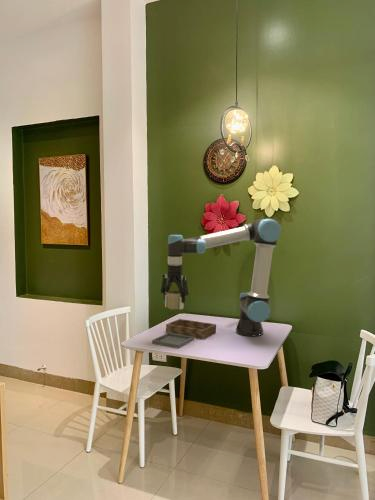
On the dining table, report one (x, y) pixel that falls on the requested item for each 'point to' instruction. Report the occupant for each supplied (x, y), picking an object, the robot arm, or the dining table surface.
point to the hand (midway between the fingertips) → (174, 307)
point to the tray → (173, 340)
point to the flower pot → (173, 299)
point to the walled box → (191, 328)
